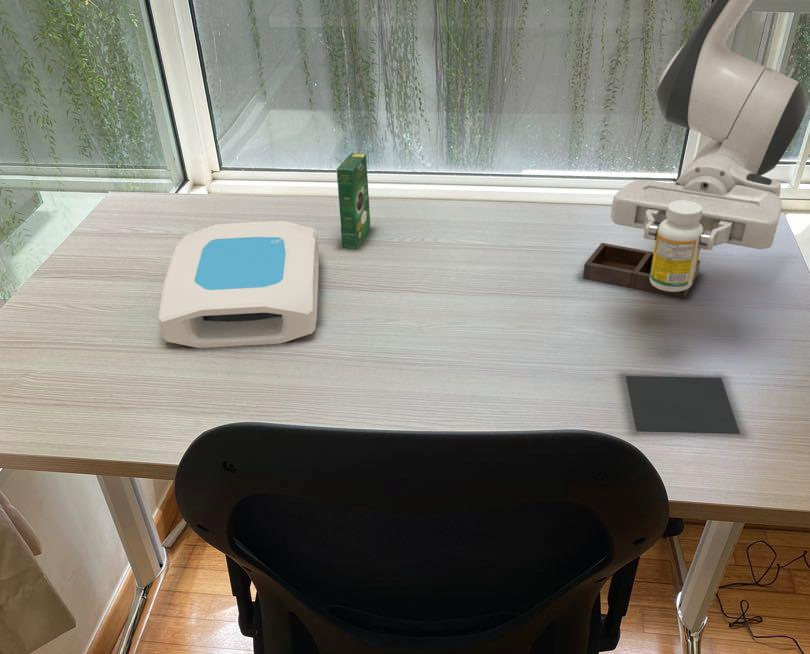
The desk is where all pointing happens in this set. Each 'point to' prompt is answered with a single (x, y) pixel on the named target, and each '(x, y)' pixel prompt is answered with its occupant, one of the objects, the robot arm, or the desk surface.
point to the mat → (680, 405)
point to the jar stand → (625, 268)
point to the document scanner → (241, 284)
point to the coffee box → (353, 200)
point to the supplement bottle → (677, 247)
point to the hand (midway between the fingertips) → (677, 238)
